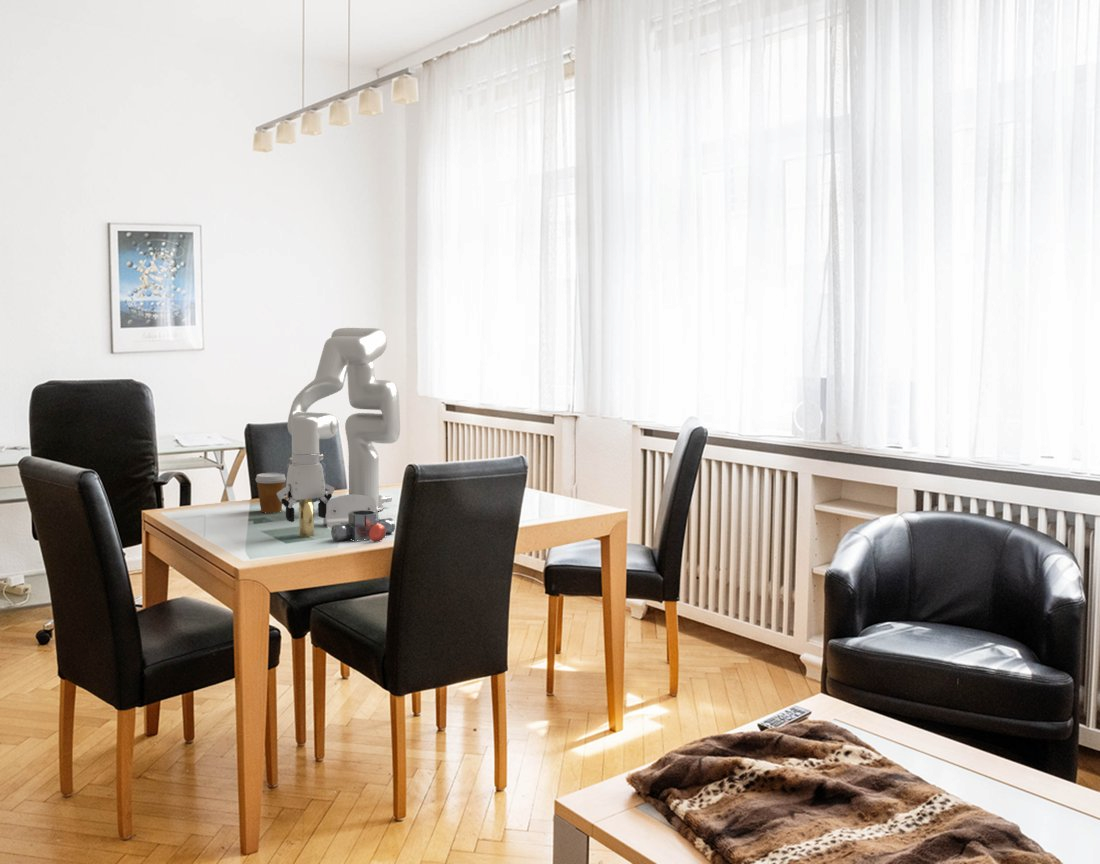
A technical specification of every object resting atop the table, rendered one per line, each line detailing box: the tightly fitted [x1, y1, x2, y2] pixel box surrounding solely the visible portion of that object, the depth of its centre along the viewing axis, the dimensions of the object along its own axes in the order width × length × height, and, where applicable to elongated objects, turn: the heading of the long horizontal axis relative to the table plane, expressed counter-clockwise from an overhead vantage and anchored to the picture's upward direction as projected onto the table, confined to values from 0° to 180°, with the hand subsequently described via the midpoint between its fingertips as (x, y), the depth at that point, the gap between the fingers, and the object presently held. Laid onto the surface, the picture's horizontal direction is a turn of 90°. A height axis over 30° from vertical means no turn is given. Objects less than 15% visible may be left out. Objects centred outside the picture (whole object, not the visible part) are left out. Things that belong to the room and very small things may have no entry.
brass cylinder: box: [298, 498, 315, 538], centre depth 280 cm, size 4×4×12 cm
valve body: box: [330, 510, 396, 542], centre depth 278 cm, size 18×12×7 cm, turn 131°
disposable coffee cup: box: [254, 472, 287, 514], centre depth 315 cm, size 10×10×12 cm
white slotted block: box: [323, 494, 381, 528], centre depth 298 cm, size 17×5×10 cm, turn 115°
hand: (306, 519), depth 280 cm, fingers open, 9 cm apart
